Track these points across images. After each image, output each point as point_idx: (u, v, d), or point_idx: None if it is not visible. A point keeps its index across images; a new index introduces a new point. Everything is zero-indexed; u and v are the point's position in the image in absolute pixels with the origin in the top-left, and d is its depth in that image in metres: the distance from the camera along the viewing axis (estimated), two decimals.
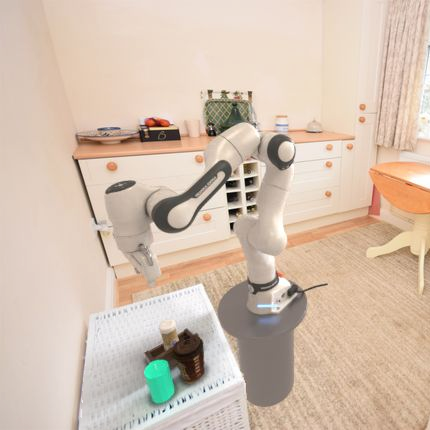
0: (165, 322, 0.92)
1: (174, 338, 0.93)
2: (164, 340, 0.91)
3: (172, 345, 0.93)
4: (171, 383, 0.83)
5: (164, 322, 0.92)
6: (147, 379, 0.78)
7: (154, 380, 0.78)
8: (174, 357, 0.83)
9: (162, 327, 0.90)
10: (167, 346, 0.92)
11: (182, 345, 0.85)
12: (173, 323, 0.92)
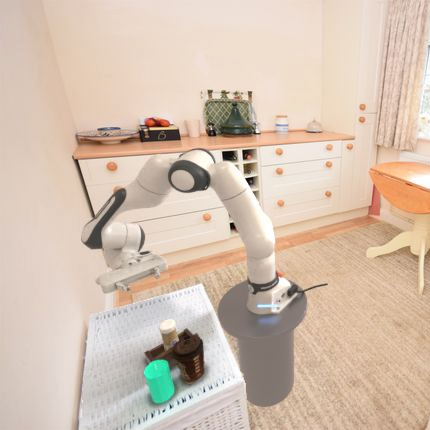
0: (165, 322, 0.92)
1: (174, 338, 0.93)
2: (164, 340, 0.91)
3: (172, 345, 0.93)
4: (171, 383, 0.83)
5: (164, 322, 0.92)
6: (147, 379, 0.78)
7: (154, 380, 0.78)
8: (174, 357, 0.83)
9: (162, 327, 0.90)
10: (167, 346, 0.92)
11: (182, 345, 0.85)
12: (173, 323, 0.92)
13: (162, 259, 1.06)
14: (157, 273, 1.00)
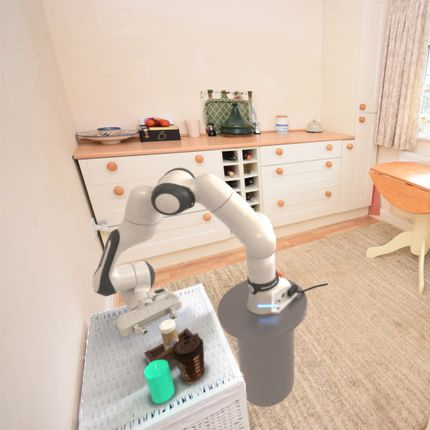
0: (165, 322, 0.92)
1: (174, 338, 0.93)
2: (164, 340, 0.91)
3: (172, 345, 0.93)
4: (171, 383, 0.83)
5: (164, 322, 0.92)
6: (147, 379, 0.78)
7: (154, 380, 0.78)
8: (174, 357, 0.83)
9: (162, 327, 0.90)
10: (167, 346, 0.92)
11: (182, 345, 0.85)
12: (173, 323, 0.92)
13: (177, 298, 1.08)
14: (172, 313, 1.02)
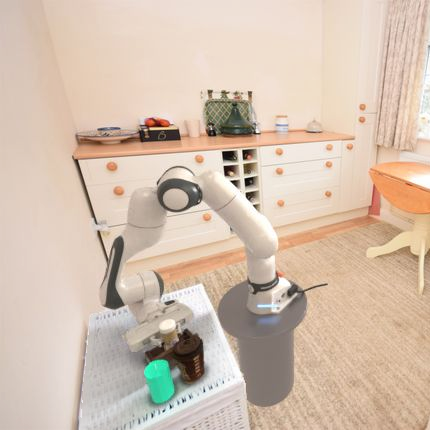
0: (165, 322, 0.92)
1: (174, 338, 0.93)
2: (164, 340, 0.91)
3: (172, 345, 0.93)
4: (171, 383, 0.83)
5: (164, 322, 0.92)
6: (147, 379, 0.78)
7: (154, 380, 0.78)
8: (174, 357, 0.83)
9: (162, 327, 0.90)
10: (167, 346, 0.92)
11: (182, 345, 0.85)
12: (173, 323, 0.92)
13: (188, 309, 1.03)
14: (178, 330, 0.95)
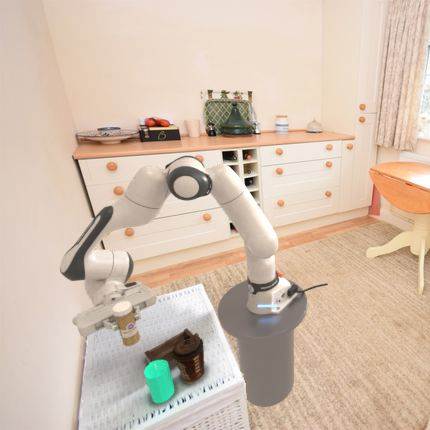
0: (120, 303, 0.83)
1: (130, 321, 0.83)
2: (118, 324, 0.82)
3: (128, 330, 0.84)
4: (171, 383, 0.83)
5: (119, 304, 0.83)
6: (147, 379, 0.78)
7: (154, 380, 0.78)
8: (174, 357, 0.83)
9: (115, 309, 0.81)
10: (122, 330, 0.83)
11: (182, 345, 0.85)
12: (129, 305, 0.82)
13: (150, 292, 0.93)
14: (137, 314, 0.86)
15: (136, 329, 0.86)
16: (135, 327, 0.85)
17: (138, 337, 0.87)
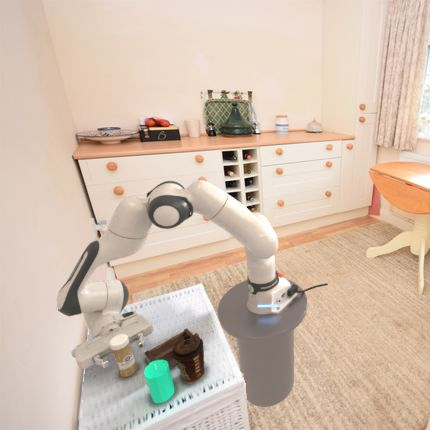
0: (117, 337, 0.86)
1: (127, 354, 0.87)
2: (115, 357, 0.85)
3: (125, 362, 0.87)
4: (171, 383, 0.83)
5: (116, 337, 0.86)
6: (147, 379, 0.78)
7: (154, 380, 0.78)
8: (174, 357, 0.83)
9: (113, 343, 0.84)
10: (119, 362, 0.86)
11: (182, 345, 0.85)
12: (125, 338, 0.86)
13: (147, 322, 0.96)
14: (140, 341, 0.91)
15: (133, 360, 0.89)
16: (132, 359, 0.89)
17: (135, 368, 0.90)
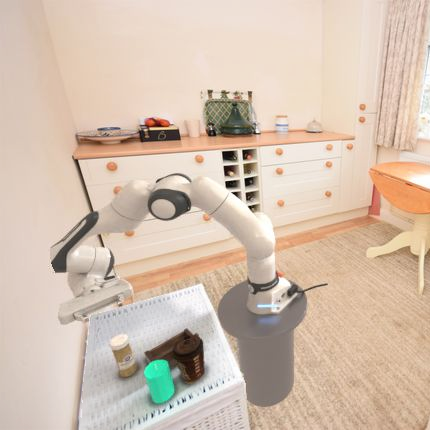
0: (117, 337, 0.86)
1: (127, 354, 0.87)
2: (115, 357, 0.85)
3: (125, 362, 0.87)
4: (171, 383, 0.83)
5: (116, 337, 0.86)
6: (147, 379, 0.78)
7: (154, 380, 0.78)
8: (174, 357, 0.83)
9: (112, 343, 0.84)
10: (119, 362, 0.86)
11: (182, 345, 0.85)
12: (125, 338, 0.86)
13: (127, 284, 1.01)
14: (120, 301, 0.95)
15: (133, 360, 0.89)
16: (132, 359, 0.89)
17: (135, 368, 0.90)
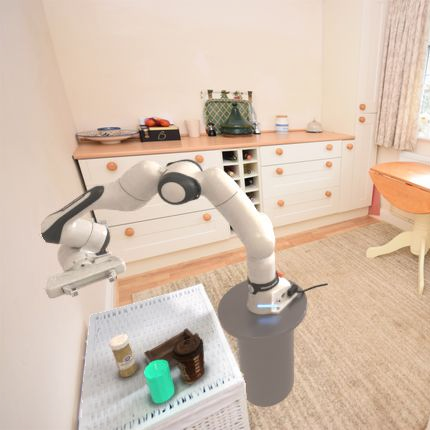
0: (117, 337, 0.86)
1: (127, 354, 0.87)
2: (115, 357, 0.85)
3: (125, 362, 0.87)
4: (171, 383, 0.83)
5: (116, 337, 0.86)
6: (147, 379, 0.78)
7: (154, 380, 0.78)
8: (174, 357, 0.83)
9: (112, 343, 0.84)
10: (119, 362, 0.86)
11: (182, 345, 0.85)
12: (125, 338, 0.86)
13: (119, 260, 0.97)
14: (111, 276, 0.91)
15: (133, 360, 0.89)
16: (132, 359, 0.89)
17: (135, 368, 0.90)
